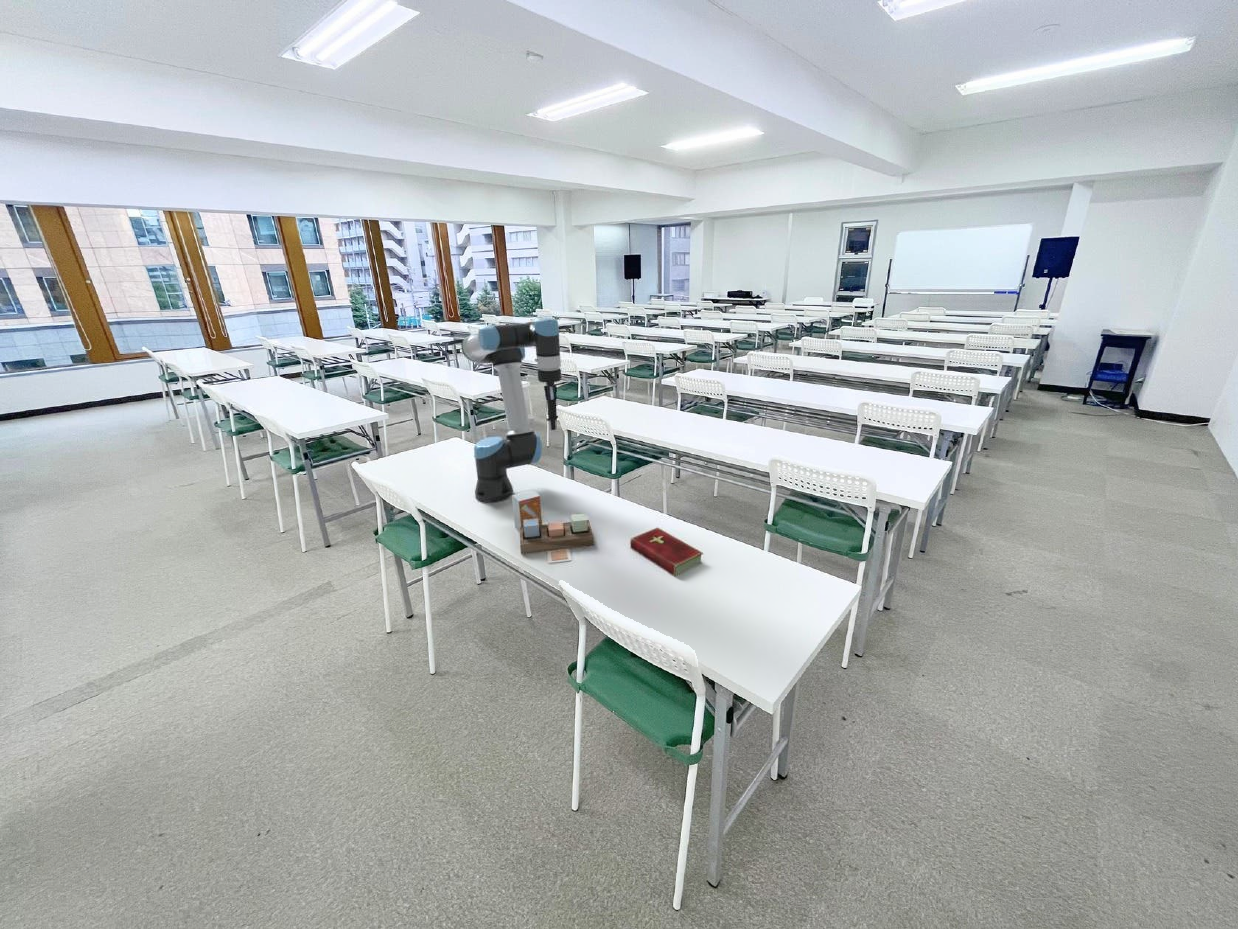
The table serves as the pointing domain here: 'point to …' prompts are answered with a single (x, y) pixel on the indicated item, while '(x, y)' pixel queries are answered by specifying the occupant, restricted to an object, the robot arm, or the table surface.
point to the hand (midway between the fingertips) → (553, 437)
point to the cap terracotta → (555, 529)
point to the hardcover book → (666, 551)
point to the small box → (526, 508)
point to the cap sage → (579, 522)
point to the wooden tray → (556, 539)
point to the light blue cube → (531, 527)
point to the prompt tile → (559, 556)
